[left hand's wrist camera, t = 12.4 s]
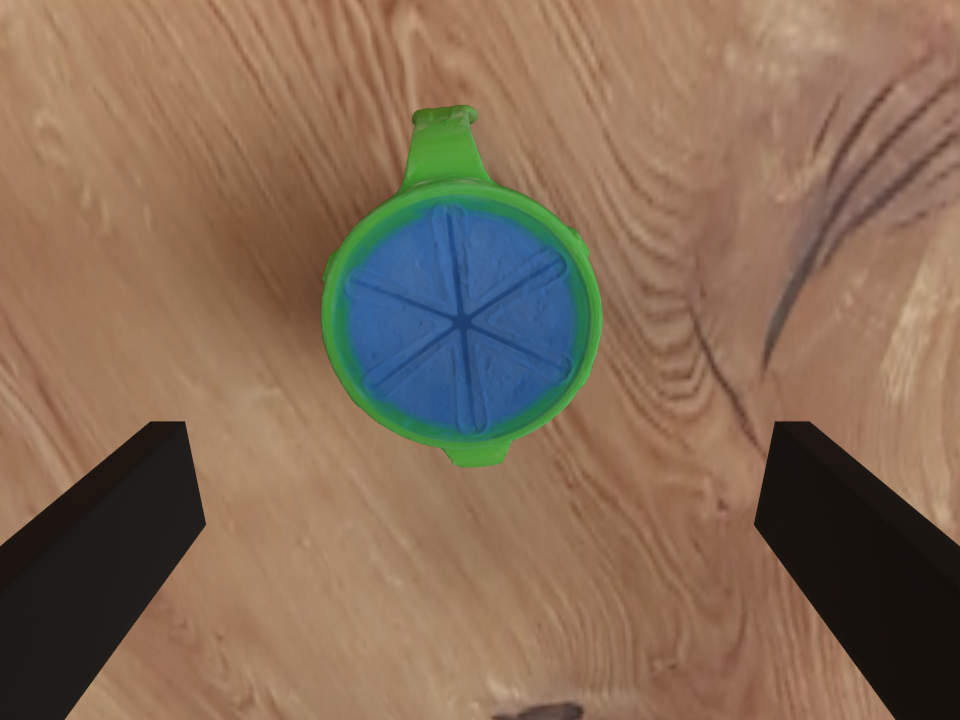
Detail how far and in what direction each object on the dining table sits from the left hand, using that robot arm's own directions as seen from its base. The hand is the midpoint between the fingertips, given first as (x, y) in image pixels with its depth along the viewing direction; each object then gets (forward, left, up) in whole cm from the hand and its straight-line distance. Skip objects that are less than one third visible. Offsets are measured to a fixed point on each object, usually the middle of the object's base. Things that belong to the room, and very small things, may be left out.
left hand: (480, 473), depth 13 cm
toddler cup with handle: (0, +2, -15) cm, 15 cm away
